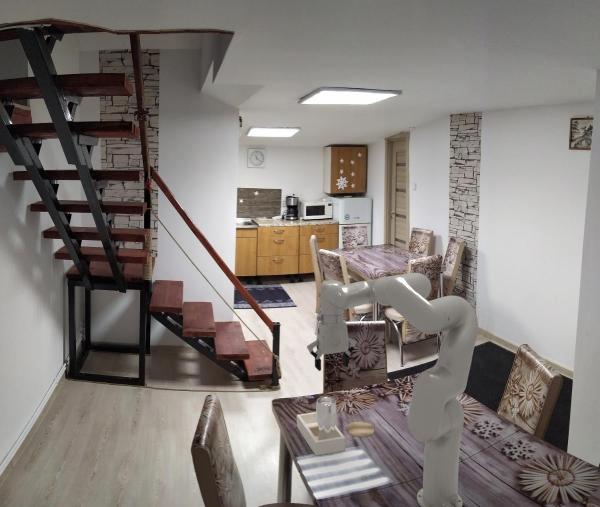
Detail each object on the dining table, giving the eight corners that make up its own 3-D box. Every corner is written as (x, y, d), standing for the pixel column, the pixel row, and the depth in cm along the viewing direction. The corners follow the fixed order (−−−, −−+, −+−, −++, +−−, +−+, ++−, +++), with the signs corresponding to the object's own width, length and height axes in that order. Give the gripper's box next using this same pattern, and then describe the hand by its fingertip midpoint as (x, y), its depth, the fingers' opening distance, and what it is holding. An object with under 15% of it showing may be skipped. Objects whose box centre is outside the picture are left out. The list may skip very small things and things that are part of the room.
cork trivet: (379, 434, 193) (379, 432, 193) (353, 438, 190) (353, 436, 190) (367, 421, 202) (367, 419, 202) (342, 425, 199) (342, 423, 199)
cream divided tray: (345, 450, 182) (345, 437, 181) (315, 455, 179) (315, 442, 178) (323, 422, 202) (323, 410, 201) (296, 426, 199) (296, 414, 198)
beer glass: (334, 448, 181) (335, 406, 179) (314, 446, 183) (314, 404, 180) (337, 438, 188) (337, 397, 186) (317, 436, 189) (317, 395, 187)
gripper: (311, 323, 172) (311, 375, 175) (360, 318, 177) (360, 368, 180) (303, 317, 179) (303, 367, 182) (351, 312, 184) (351, 360, 187)
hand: (332, 367), depth 181 cm, fingers open, 9 cm apart
